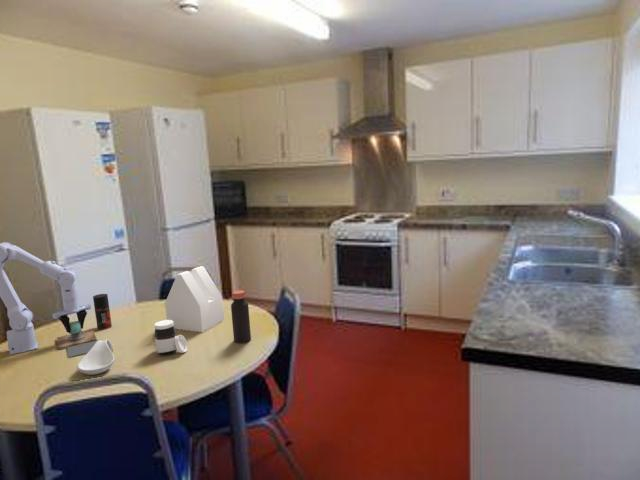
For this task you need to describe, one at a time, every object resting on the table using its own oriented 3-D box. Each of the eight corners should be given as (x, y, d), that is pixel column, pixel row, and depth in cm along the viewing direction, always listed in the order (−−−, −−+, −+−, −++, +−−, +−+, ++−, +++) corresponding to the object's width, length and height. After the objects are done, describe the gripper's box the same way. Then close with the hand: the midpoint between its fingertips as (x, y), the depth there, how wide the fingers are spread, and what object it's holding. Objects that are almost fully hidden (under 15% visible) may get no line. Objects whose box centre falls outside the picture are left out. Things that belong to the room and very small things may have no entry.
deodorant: (108, 324, 208) (103, 293, 206) (114, 326, 205) (109, 294, 202) (95, 328, 204) (90, 296, 201) (101, 330, 200) (96, 298, 198)
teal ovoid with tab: (66, 332, 189) (64, 323, 188) (77, 328, 193) (76, 320, 192) (73, 335, 185) (71, 325, 185) (84, 331, 189) (83, 322, 188)
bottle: (247, 343, 176) (243, 294, 173) (231, 343, 178) (226, 294, 174) (253, 337, 183) (249, 289, 179) (237, 336, 184) (233, 289, 181)
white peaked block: (224, 320, 205) (219, 267, 201) (202, 332, 192) (197, 275, 187) (190, 316, 213) (185, 265, 209) (167, 328, 199) (161, 273, 195)
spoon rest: (112, 375, 155) (110, 356, 154) (75, 381, 152) (72, 362, 151) (122, 350, 177) (120, 332, 176) (89, 355, 174) (87, 337, 173)
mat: (68, 358, 172) (68, 357, 172) (66, 348, 182) (66, 347, 182) (103, 349, 178) (103, 348, 178) (99, 340, 188) (99, 339, 188)
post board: (58, 350, 180) (57, 343, 180) (57, 339, 192) (55, 333, 191) (96, 341, 187) (95, 334, 187) (93, 331, 199) (92, 325, 199)
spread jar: (155, 349, 176) (152, 320, 174) (185, 343, 180) (182, 315, 178) (157, 360, 165) (154, 330, 163) (189, 354, 169) (186, 324, 167)
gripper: (56, 305, 179) (60, 337, 181) (92, 295, 190) (96, 326, 192) (48, 302, 183) (53, 334, 185) (84, 293, 194) (88, 323, 196)
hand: (75, 330), depth 189 cm, fingers closed on teal ovoid with tab, 5 cm apart
